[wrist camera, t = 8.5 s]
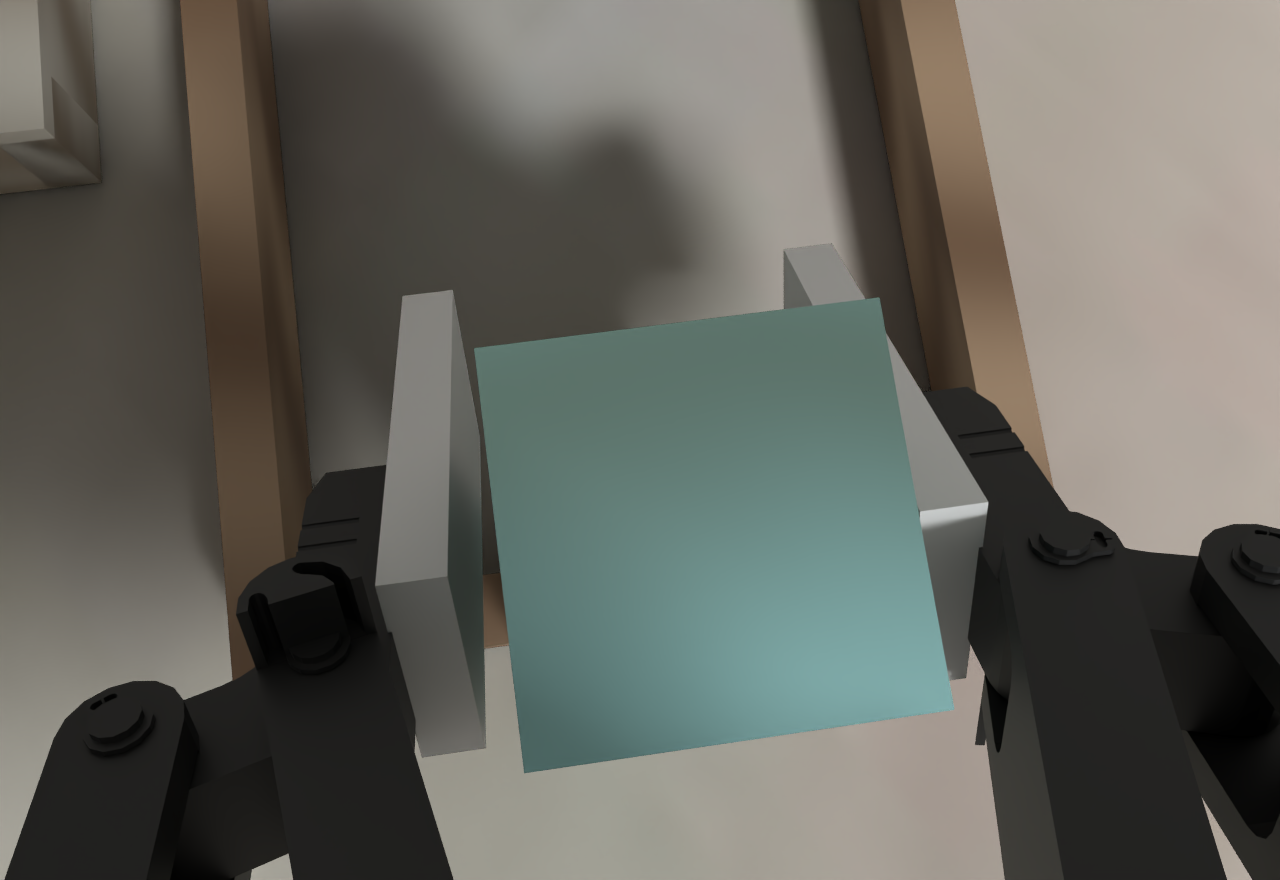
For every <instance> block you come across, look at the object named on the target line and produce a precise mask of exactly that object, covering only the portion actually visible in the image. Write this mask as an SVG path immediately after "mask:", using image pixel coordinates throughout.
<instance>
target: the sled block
mask: <svg viewBox="0 0 1280 880" xmlns="http://www.w3.org/2000/svg"><path fill="white" fill-rule="evenodd" d="M93 183H102V177H101V161H100V145H99V129H98V114H97V98H96V82H95V66H94V50H93V34H92V18H91V2H90V0H0V194H6V193H15V192H23V191H32V190H41V189H49V188H58V187H67V186H76V185H84V184H93Z"/></svg>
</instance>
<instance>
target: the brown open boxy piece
mask: <svg viewBox="0 0 1280 880" xmlns="http://www.w3.org/2000/svg"><path fill="white" fill-rule="evenodd" d="M859 6H860V11H861V16H862V22H863V27H864V32H865V38H866V43H867V48H868V54H869V59H870V65H871V70H872V75H873V81H874V86H875V91H876V97H877V102H878V107H879V113H880V118H881V123H882V129H883V134H884V139H885V145H886V150H887V155H888V161H889V166H890V171H891V177H892V182H893V187H894V193H895V198H896V203H897V209H898V214H899V219H900V225H901V230H902V235H903V241H904V246H905V251H906V257H907V262H908V267H909V273H910V278H911V283H912V289H913V294H914V300H915V305H916V310H917V316H918V321H919V326H920V332H921V337H922V342H923V348H924V353H925V358H926V364H927V369H928V374H929V380H930V385H931V390H932V391H936V390H944V389H952V388H959V387H969V388H970V389H972V390H973V391H975V392H976V393H978V394H980V395H981V396H983V397H984V398H986V399H987V400H989V401H990V402H992V403H994V404H995V405H996V406H997V407H998V409H999V410H1000V412H1001V413H1002V415H1003V416H1004V418H1005V419H1006V420H1007V422H1008V423H1009V425H1010V426H1011V428H1012V433H1013V432H1015V433H1016V435H1017V436H1018V438H1019V439H1020V441H1021V442H1022V444H1023V445H1024V449H1025V451H1028V452H1029V454H1030V455H1031V457H1032V458H1033V459H1034V461H1035V462H1036V464H1037V465H1038V467H1039V468H1040V470H1041V471H1042V472H1043V474H1044V475H1045V477H1046V478H1047V480H1048V481H1049V483H1050V484H1051V485H1052V487H1053V483H1052V478H1051V473H1050V468H1049V463H1048V458H1047V453H1046V448H1045V443H1044V438H1043V433H1042V428H1041V423H1040V418H1039V414H1038V409H1037V404H1036V399H1035V394H1034V389H1033V384H1032V379H1031V374H1030V369H1029V364H1028V359H1027V354H1026V349H1025V345H1024V340H1023V335H1022V330H1021V325H1020V320H1019V315H1018V310H1017V305H1016V300H1015V295H1014V290H1013V285H1012V280H1011V276H1010V271H1009V266H1008V261H1007V256H1006V251H1005V246H1004V241H1003V236H1002V231H1001V226H1000V221H999V216H998V211H997V206H996V202H995V197H994V192H993V187H992V182H991V177H990V172H989V167H988V162H987V157H986V152H985V147H984V142H983V137H982V133H981V128H980V123H979V118H978V113H977V108H976V103H975V98H974V93H973V88H972V83H971V78H970V73H969V68H968V63H967V59H966V54H965V49H964V44H963V39H962V34H961V29H960V24H959V19H958V14H957V9H956V4H955V0H859ZM180 7H181V20H182V33H183V46H184V59H185V72H186V85H187V98H188V111H189V123H190V136H191V149H192V162H193V175H194V188H195V201H196V214H197V227H198V240H199V253H200V266H201V278H202V291H203V304H204V317H205V330H206V343H207V356H208V369H209V382H210V395H211V408H212V420H213V433H214V446H215V459H216V472H217V485H218V498H219V511H220V524H221V537H222V550H223V562H224V575H225V588H226V601H227V614H228V627H229V640H230V653H231V666H232V679H233V680H235V679H237V678H239V677H241V676H242V675H244V674H245V673H247V672H248V671H250V670H251V669H253V668H254V667H255V664H254V662H253V659H252V656H251V654H250V651H249V648H248V646H247V643H246V640H245V638H244V635H243V632H242V630H241V627H240V624H239V622H238V619H237V616H236V610H237V603H238V597H239V596H240V595H241V593H242V592H243V590H244V589H245V587H246V586H247V585H248V583H249V582H250V581H251V580H252V579H254V578H255V577H256V576H258V575H259V574H260V573H262V572H263V571H264V570H266V569H267V568H268V567H271V566H273V565H275V564H278V563H280V562H282V561H285V560H287V559H290V558H293V557H296V552H298V541H299V536H300V530H302V520H303V514H304V509H305V503H306V498H307V497H308V496H309V495H310V493H311V492H312V483H311V472H310V461H309V450H308V440H307V429H306V418H305V407H304V396H303V385H302V374H301V363H300V352H299V341H298V330H297V319H296V308H295V298H294V287H293V276H292V265H291V254H290V243H289V232H288V221H287V210H286V199H285V188H284V177H283V167H282V156H281V145H280V134H279V123H278V112H277V101H276V90H275V79H274V68H273V57H272V46H271V36H270V25H269V14H268V3H267V0H180ZM474 352H475V361H476V369H477V378H478V386H479V395H480V403H481V411H482V420H483V428H484V437H485V445H486V454H487V462H488V471H489V479H490V487H491V496H492V504H493V513H494V521H495V530H496V538H497V547H498V555H499V563H500V573H493V574H485V575H483V617H484V649H486V648H493V647H500V646H507V645H509V648H510V656H511V665H512V673H513V682H514V690H515V699H516V707H517V716H518V724H519V732H520V741H521V749H522V758H523V766H524V773H529V772H535V771H542V770H549V769H556V768H563V767H569V766H576V765H583V764H590V763H596V762H603V761H610V760H617V759H624V758H630V757H637V756H644V755H651V754H657V753H664V752H671V751H678V750H685V749H691V748H698V747H705V746H712V745H718V744H725V743H732V742H739V741H745V740H752V739H759V738H766V737H773V736H779V735H786V734H793V733H800V732H806V731H813V730H820V729H827V728H834V727H840V726H847V725H854V724H861V723H867V722H874V721H881V720H888V719H894V718H901V717H908V716H915V715H922V714H928V713H935V712H942V711H949V710H954V705H953V699H952V694H951V688H950V683H949V677H948V672H947V666H946V661H945V655H944V650H943V644H942V639H941V633H940V628H939V622H938V617H937V611H936V606H935V600H934V595H933V589H932V584H931V578H930V573H929V567H928V562H927V556H926V551H925V545H924V540H923V534H922V529H921V523H920V518H919V512H918V507H917V501H916V496H915V490H914V485H913V479H912V474H911V468H910V463H909V457H908V452H907V446H906V441H905V435H904V430H903V424H902V419H901V413H900V408H899V402H898V397H897V391H896V386H895V380H894V375H893V369H892V364H891V358H890V353H889V347H888V342H887V336H886V331H885V325H884V320H883V314H882V309H881V303H880V298H879V297H878V298H870V299H862V300H854V301H846V302H838V303H830V304H822V305H814V306H806V307H798V308H790V309H782V310H775V311H767V312H759V313H751V314H743V315H735V316H727V317H719V318H711V319H703V320H695V321H687V322H679V323H671V324H663V325H655V326H647V327H639V328H631V329H623V330H615V331H607V332H599V333H591V334H583V335H575V336H567V337H559V338H551V339H543V340H535V341H527V342H520V343H512V344H504V345H496V346H488V347H480V348H474Z"/></svg>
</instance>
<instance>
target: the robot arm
mask: <svg viewBox="0 0 1280 880" xmlns="http://www.w3.org/2000/svg"><path fill="white" fill-rule="evenodd" d="M862 299H865V297H864V296H863V294H862V292H861V291H860V289H859V288H858V286H857V284H856V283H855V281H854V279H853V278H852V276H851V274H850V273H849V271H848V269H847V268H846V266H845V264H844V263H843V261H842V259H841V258H840V256H839V254H838V253H837V251H836V250H835V248H834V246H833V245H832V243H831V244H823V245H815V246H807V247H799V248H791V249H784V309H790V308H798V307H806V306H814V305H822V304H830V303H838V302H846V301H854V300H862ZM886 336H887V342H888V347H889V353H890V358H891V364H892V369H893V375H894V380H895V386H896V391H897V397H898V402H899V408H900V413H901V419H902V424H903V430H904V435H905V441H906V446H907V452H908V457H909V463H910V468H911V474H912V479H913V485H914V490H915V496H916V501H917V507H918V512H919V518H920V523H921V529H922V534H923V540H924V545H925V551H926V556H927V562H928V567H929V573H930V578H931V584H932V589H933V595H934V600H935V606H936V611H937V617H938V622H939V628H940V633H941V639H942V644H943V650H944V655H945V661H946V666H947V672H948V677H949V680H955V679H962V678H966V674H967V666H968V659H969V651H970V644H971V646H972V648H973V650H974V652H975V654H976V656H977V658H978V660H979V662H980V664H981V666H982V668H983V670H984V672H985V677H984V684H983V692H982V699H981V706H980V713H979V720H978V727H977V734H976V742H975V745H985V740H986V742H987V749H988V757H989V764H990V772H991V779H992V787H993V794H994V802H995V809H996V816H997V824H998V831H999V839H1000V846H1001V854H1002V861H1003V869H1004V876H1005V880H1227V878H1226V875H1225V872H1224V869H1223V865H1222V862H1221V859H1220V856H1219V852H1218V849H1217V846H1216V843H1215V839H1214V836H1213V833H1212V830H1211V826H1210V823H1209V820H1208V817H1207V813H1206V810H1205V807H1204V804H1203V800H1204V801H1205V803H1206V804H1207V806H1208V808H1209V809H1210V811H1211V813H1212V814H1213V816H1214V818H1215V819H1216V821H1217V822H1218V824H1219V826H1220V827H1221V829H1222V831H1223V832H1224V834H1225V836H1226V837H1227V839H1228V840H1229V842H1230V844H1231V845H1232V847H1233V849H1234V850H1235V852H1236V854H1237V855H1238V857H1239V858H1240V860H1241V862H1242V863H1243V865H1244V867H1245V868H1246V870H1247V872H1248V873H1249V875H1250V876H1251V878H1252V880H1280V529H1277V528H1272V527H1268V526H1263V525H1259V524H1233V525H1229V526H1226V527H1222V528H1219V529H1215V530H1214V531H1212V532H1211V533H1210V534H1209V535H1208V536H1207V537H1205V538H1204V539H1203V540H1202V544H1201V548H1200V551H1199V555H1198V556H1187V555H1175V554H1164V553H1152V552H1145V551H1138V550H1132V549H1128V548H1125V547H1124V546H1123V544H1122V543H1121V541H1120V539H1119V538H1118V536H1117V535H1116V533H1115V532H1113V531H1112V530H1111V529H1109V528H1108V527H1107V526H1105V525H1104V524H1103V523H1101V522H1100V521H1098V520H1096V519H1093V518H1091V517H1088V516H1085V515H1083V514H1080V513H1078V512H1071V511H1069V510H1068V509H1067V507H1066V506H1065V504H1064V503H1063V501H1062V500H1061V498H1060V497H1059V496H1058V494H1057V493H1056V491H1055V490H1054V488H1053V487H1052V485H1051V484H1050V483H1049V481H1048V480H1047V478H1046V477H1045V475H1044V474H1043V472H1042V471H1041V470H1040V468H1039V467H1038V465H1037V464H1036V462H1035V461H1034V459H1033V458H1032V457H1031V455H1030V454H1029V452H1028V451H1025V449H1024V445H1023V444H1022V442H1021V441H1020V439H1019V438H1018V436H1017V435H1016V433H1015V432H1013V433H1012V428H1011V426H1010V425H1009V423H1008V422H1007V420H1006V419H1005V418H1004V416H1003V415H1002V413H1001V412H1000V410H999V409H998V407H997V406H996V405H995V404H994V403H992V402H990V401H989V400H987V399H986V398H984V397H983V396H981V395H980V394H978V393H976V392H975V391H973V390H972V389H970V388H969V387H959V388H952V389H944V390H936V391H929V392H921V390H920V388H919V387H918V385H917V383H916V382H915V380H914V378H913V377H912V375H911V373H910V372H909V370H908V368H907V367H906V365H905V363H904V362H903V360H902V359H901V357H900V355H899V354H898V352H897V350H896V349H895V347H894V345H893V344H892V342H891V340H890V339H889V337H888V335H887V334H886ZM236 616H237V619H238V622H239V624H240V627H241V630H242V632H243V635H244V638H245V640H246V643H247V646H248V648H249V651H250V654H251V656H252V659H253V662H254V664H255V667H254V668H253V669H251V670H250V671H248V672H247V673H245V674H244V675H242V676H241V677H239V678H237V679H235V680H233V681H231V682H229V683H226V684H224V685H222V686H220V687H217V688H214V689H212V690H209V691H207V692H204V693H201V694H199V695H196V696H194V697H191V698H188V699H186V700H183V699H182V698H181V696H180V695H179V694H178V693H177V691H176V690H175V689H174V688H173V687H171V686H168V685H165V684H163V683H160V682H157V681H132V682H129V683H125V684H122V685H118V686H115V687H111V688H108V689H106V690H104V691H102V692H101V693H99V694H97V695H95V696H93V697H92V698H90V699H88V700H86V701H84V702H83V703H82V704H81V705H80V706H79V707H78V708H77V709H76V710H75V711H73V712H72V713H71V714H70V715H69V716H68V717H67V718H66V719H65V720H64V722H63V724H62V725H61V727H60V729H59V731H58V732H57V734H56V736H55V737H54V740H53V742H52V745H51V748H50V751H49V754H48V757H47V760H46V762H45V765H44V768H43V771H42V774H41V777H40V780H39V782H38V785H37V788H36V791H35V794H34V797H33V800H32V802H31V805H30V808H29V811H28V814H27V817H26V820H25V822H24V825H23V828H22V831H21V834H20V837H19V840H18V842H17V845H16V848H15V851H14V854H13V857H12V860H11V863H10V865H9V868H8V871H7V874H6V877H5V880H250V878H251V872H252V869H254V868H256V867H258V866H261V865H263V864H265V863H267V862H270V861H272V860H274V859H277V858H279V857H281V856H283V855H286V854H288V853H289V858H290V863H291V869H292V875H293V880H453V876H452V873H451V870H450V867H449V863H448V860H447V857H446V854H445V850H444V847H443V844H442V841H441V837H440V834H439V831H438V828H437V824H436V821H435V818H434V815H433V811H432V808H431V805H430V802H429V798H428V795H427V792H426V789H425V785H424V782H423V779H422V776H421V772H420V769H419V766H418V763H417V759H416V756H415V753H414V750H415V734H416V737H417V741H418V744H419V748H420V752H421V755H422V757H428V756H435V755H442V754H449V753H456V752H462V751H469V750H476V749H483V748H486V724H485V671H484V617H483V564H482V511H481V457H480V434H479V428H478V423H477V418H476V412H475V407H474V401H473V396H472V391H471V385H470V380H469V374H468V369H467V364H466V358H465V353H464V348H463V342H462V337H461V331H460V326H459V321H458V315H457V310H456V305H455V299H454V294H453V290H447V291H439V292H431V293H423V294H415V295H407V296H403V297H402V308H401V318H400V329H399V339H398V350H397V360H396V371H395V381H394V392H393V403H392V413H391V424H390V434H389V445H388V455H387V465H383V466H375V467H367V468H360V469H352V470H344V471H337V472H329V473H326V474H325V475H324V477H323V478H322V479H321V480H320V482H319V483H318V484H317V486H316V487H315V488H314V489H313V491H312V492H311V493H310V495H309V496H308V497H307V498H306V503H305V509H304V514H303V520H302V530H300V536H299V541H298V552H296V557H293V558H290V559H287V560H285V561H282V562H280V563H278V564H275V565H273V566H271V567H268V568H267V569H266V570H264V571H263V572H262V573H260V574H259V575H258V576H256V577H255V578H254V579H252V580H251V581H250V582H249V583H248V585H247V586H246V587H245V589H244V590H243V592H242V593H241V595H240V596H239V597H238V603H237V610H236ZM1201 796H1202V797H1201ZM1202 798H1203V800H1202Z"/></svg>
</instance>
